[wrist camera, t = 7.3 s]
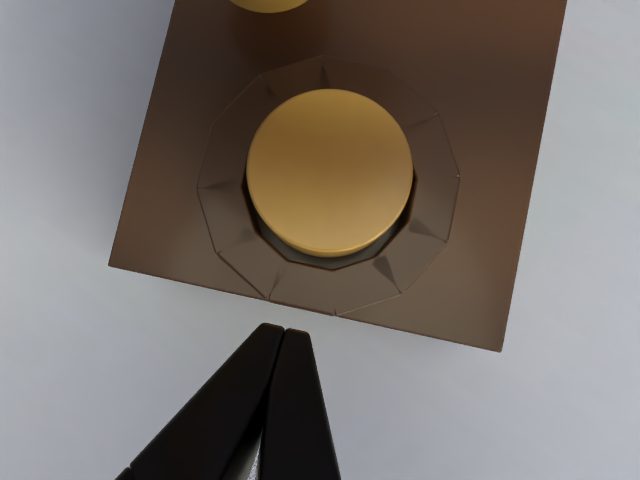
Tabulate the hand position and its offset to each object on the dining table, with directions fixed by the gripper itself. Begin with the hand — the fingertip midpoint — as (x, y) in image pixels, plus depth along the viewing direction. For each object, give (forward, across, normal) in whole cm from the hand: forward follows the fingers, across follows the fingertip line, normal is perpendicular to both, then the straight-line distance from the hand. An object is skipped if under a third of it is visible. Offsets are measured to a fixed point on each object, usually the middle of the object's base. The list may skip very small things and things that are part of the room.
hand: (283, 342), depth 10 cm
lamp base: (+13, 0, +4) cm, 14 cm away
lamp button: (+7, 0, +1) cm, 7 cm away
